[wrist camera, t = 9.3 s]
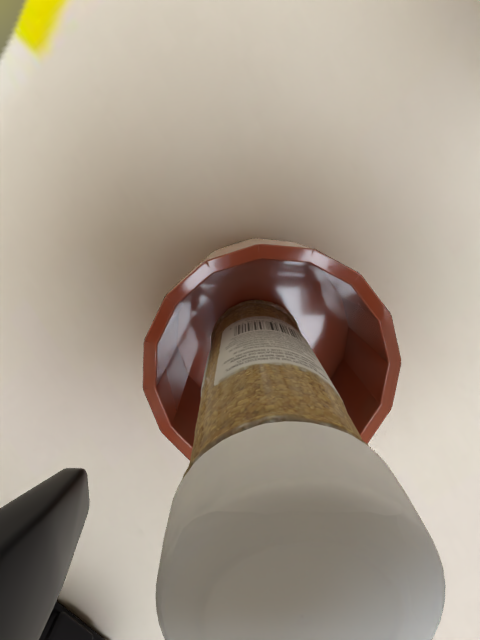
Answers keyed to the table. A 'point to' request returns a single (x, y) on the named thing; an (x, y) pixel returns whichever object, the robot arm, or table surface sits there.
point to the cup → (306, 308)
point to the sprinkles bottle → (288, 507)
